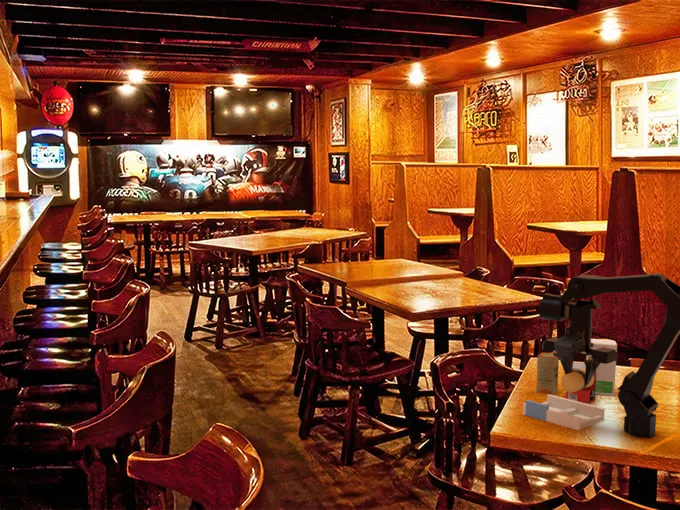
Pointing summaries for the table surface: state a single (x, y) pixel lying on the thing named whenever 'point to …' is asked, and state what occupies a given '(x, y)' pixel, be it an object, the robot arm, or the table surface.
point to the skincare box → (605, 369)
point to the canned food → (584, 394)
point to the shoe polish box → (547, 373)
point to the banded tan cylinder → (575, 381)
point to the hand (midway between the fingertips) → (577, 382)
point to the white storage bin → (564, 412)
